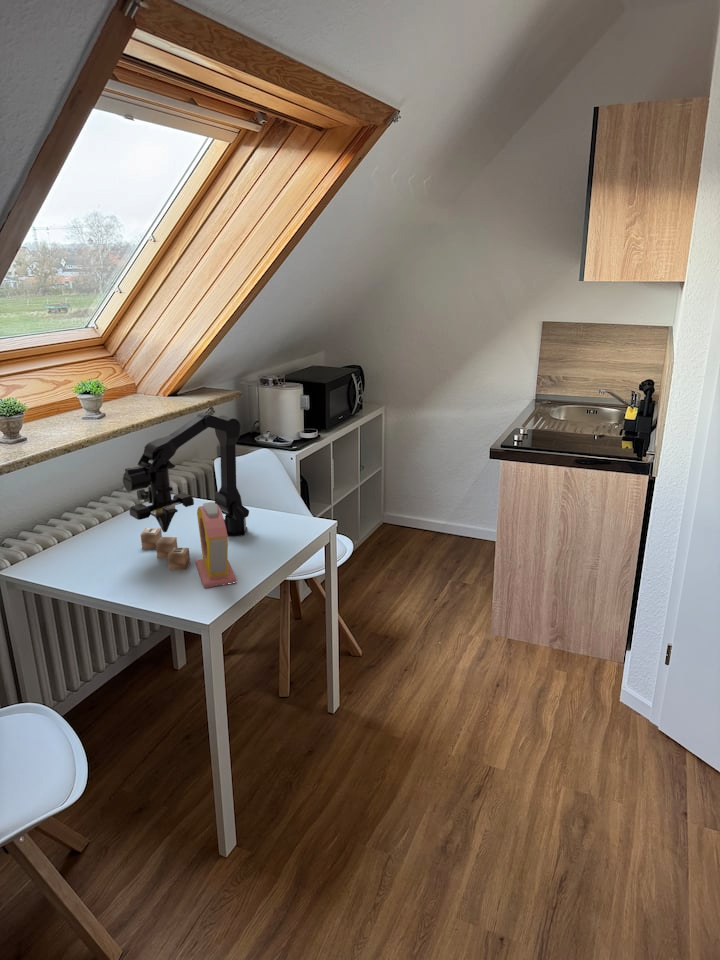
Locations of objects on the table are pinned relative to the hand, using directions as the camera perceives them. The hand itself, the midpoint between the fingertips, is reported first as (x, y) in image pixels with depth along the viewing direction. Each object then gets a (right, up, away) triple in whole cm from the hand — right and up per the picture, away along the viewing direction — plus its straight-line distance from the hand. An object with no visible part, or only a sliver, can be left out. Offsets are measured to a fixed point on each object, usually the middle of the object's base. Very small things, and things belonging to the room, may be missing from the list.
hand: (164, 531), depth 213 cm
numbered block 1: (-7, -5, +9) cm, 13 cm away
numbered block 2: (+6, -10, -5) cm, 13 cm away
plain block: (0, -7, +3) cm, 8 cm away
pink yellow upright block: (+18, -12, -10) cm, 24 cm away
